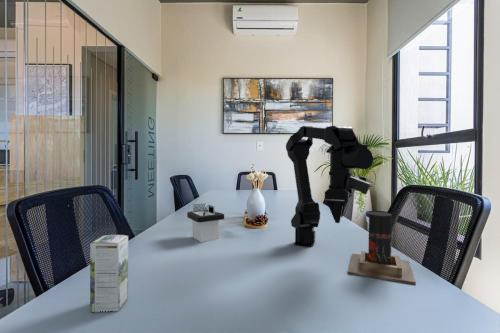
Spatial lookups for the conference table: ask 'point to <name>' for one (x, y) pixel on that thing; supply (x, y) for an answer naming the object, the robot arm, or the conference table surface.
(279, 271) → the conference table surface
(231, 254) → the conference table surface
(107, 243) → the syrup box
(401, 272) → the holder
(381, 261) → the deodorant
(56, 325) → the conference table surface
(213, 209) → the black-topped pedestal
